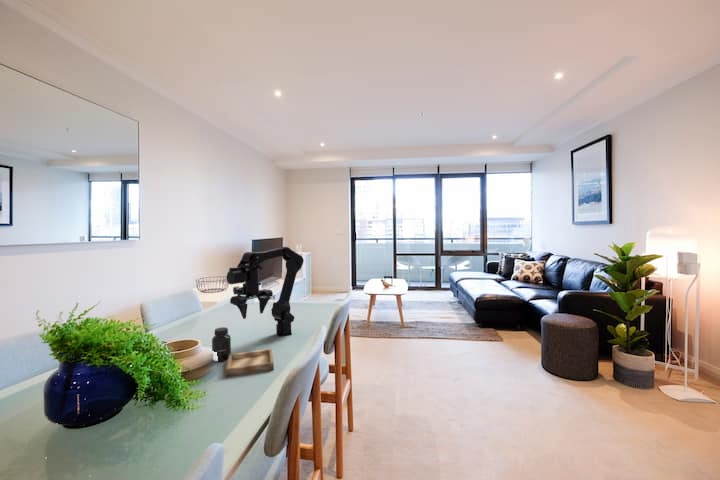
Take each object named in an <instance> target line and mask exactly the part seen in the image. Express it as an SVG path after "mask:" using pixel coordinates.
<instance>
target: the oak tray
mask: <svg viewBox="0 0 720 480" xmlns="http://www.w3.org/2000/svg"><path fill="white" fill-rule="evenodd" d="M273 356H274V355H273V349H272V348H268V349H260V350H253V351H244V352H238V353H231V354H229V358H228V360H227V363H226V368H225V378H229V377H235V376H236V377H237V376H241V375H248V374H249V375H250V374H255V373H256V374H257V373H261V372H267V371H268V372H269V371H274V369H275V368H274V367H275V365H274V357H273Z"/></svg>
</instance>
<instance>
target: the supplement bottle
mask: <svg viewBox="0 0 720 480" xmlns="http://www.w3.org/2000/svg"><path fill="white" fill-rule="evenodd" d="M228 333H229V328H228V327H223V326H221V327H217V328H215V329H214V333H213V334H214V336H213V337H212V338H211V352H212V351H214V352H217V356H218V362H217V363H222V362H226V361H228V358H229V354H232V347H231V346H232V339H231V335H230V334H228Z"/></svg>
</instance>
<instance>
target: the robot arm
mask: <svg viewBox="0 0 720 480" xmlns="http://www.w3.org/2000/svg"><path fill="white" fill-rule="evenodd" d="M279 257H281V258H282V260H284V261H285V269H286V272H285V276H284V280H283V284H282V287H281V290H280V294H279V295H280V296H279V298H278V300H277V301H276V302H275V301H274V302H273V304H272V308H271V310H270V311H271V316H272V317H273V320H274V321H275V322H277V323H276V325H275V327H276V331H275V332H276V334H277V336H278V337H283V336H291V335H293V333H292V322H294V321H295V316H294V315H293V314H292V313H291V305H290V300H291V295H292V292H293V287H294V285H295V280H296V277H297V274H298V272H299V271H300V270H301V269H302V267H303V264H304V258H303V256H302V255H300V254H299V253H297V252H296V251H294V250H292V249H291V248H290V247H288V246H280V247H276V248H272V249H268V250H262V251H246V252H244V253H243V255H242V258H241V259H240V261H239V263H238V265H237V267H229V271H228V272H227V274H226V281H227V283H228V284H229V285H237V284H241V283H243V284H242V287H240V286H234V287H232V288H233V289H232V291H233V294H234V296H231V297H230V300H229V301H230V302H229V304H231V305H233V306H236V307H237V308H238V310H239V312H240V313H241V317H242V319H244V320H245V319H246V318H247V312H248V303H247V302H248V301H249V300H253V299H257V300H258V301H259V302H258V303H259V313H260V314H263V313H264V311H265V308H266V307H267V304H268V302H269V300H270V299H271V297H273V296H274V293H273V291H272V289H266V288H265V289H260V286H261V285H262V282H260V276H259V275H260V272H259V271H261V270H264V268H263V267H262V266H261V265H260V264H263V263H264V262H265V261H267V260H272V259H275V258H279Z"/></svg>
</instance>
